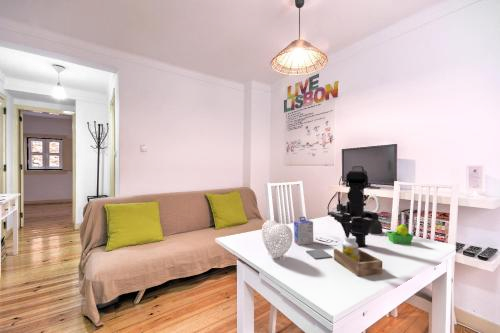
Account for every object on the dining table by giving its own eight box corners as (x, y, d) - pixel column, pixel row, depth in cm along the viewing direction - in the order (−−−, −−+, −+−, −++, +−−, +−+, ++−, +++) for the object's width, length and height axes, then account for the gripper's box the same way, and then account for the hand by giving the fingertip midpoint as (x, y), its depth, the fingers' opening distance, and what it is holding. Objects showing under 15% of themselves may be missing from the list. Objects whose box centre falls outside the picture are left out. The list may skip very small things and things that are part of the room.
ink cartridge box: (308, 240, 131) (308, 215, 131) (313, 243, 126) (314, 217, 126) (293, 242, 128) (293, 217, 128) (298, 245, 123) (298, 219, 123)
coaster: (321, 250, 116) (321, 249, 116) (332, 257, 107) (332, 256, 107) (305, 252, 114) (305, 250, 114) (315, 259, 105) (315, 257, 105)
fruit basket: (406, 240, 131) (406, 221, 131) (415, 245, 123) (415, 225, 123) (385, 239, 133) (385, 220, 133) (393, 245, 124) (393, 224, 124)
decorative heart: (256, 254, 111) (256, 219, 111) (272, 249, 117) (272, 216, 117) (281, 267, 96) (281, 228, 96) (298, 261, 102) (298, 224, 102)
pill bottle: (339, 259, 105) (340, 234, 105) (353, 258, 105) (353, 234, 105) (347, 265, 98) (347, 239, 98) (361, 265, 99) (361, 238, 99)
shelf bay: (355, 257, 107) (355, 247, 107) (382, 273, 91) (382, 261, 91) (333, 259, 104) (333, 249, 104) (358, 276, 89) (358, 264, 89)
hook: (360, 230, 151) (360, 193, 151) (375, 230, 152) (375, 193, 152) (371, 235, 140) (371, 195, 140) (387, 235, 141) (387, 195, 141)
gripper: (359, 197, 106) (359, 229, 106) (326, 198, 101) (325, 233, 101) (379, 200, 96) (379, 236, 96) (343, 202, 90) (343, 240, 90)
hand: (356, 236), depth 96 cm, fingers open, 9 cm apart
